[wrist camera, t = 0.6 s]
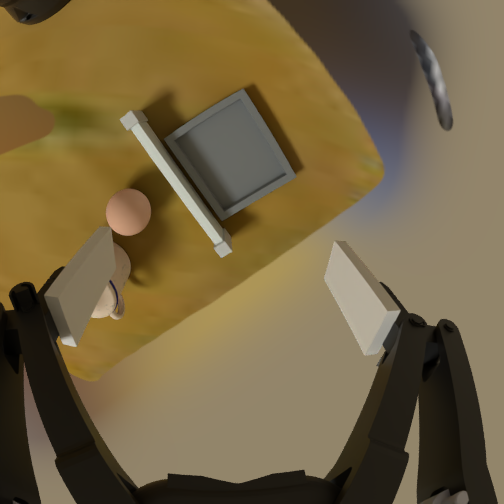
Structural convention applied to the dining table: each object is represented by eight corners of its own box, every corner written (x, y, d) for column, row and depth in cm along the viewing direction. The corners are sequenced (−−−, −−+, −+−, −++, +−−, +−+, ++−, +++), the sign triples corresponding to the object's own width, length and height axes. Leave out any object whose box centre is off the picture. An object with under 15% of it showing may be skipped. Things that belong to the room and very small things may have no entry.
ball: (107, 200, 36) (90, 215, 31) (138, 174, 35) (123, 186, 29) (132, 232, 39) (119, 252, 33) (164, 209, 38) (154, 226, 32)
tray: (166, 138, 33) (163, 139, 32) (242, 89, 31) (243, 88, 30) (221, 217, 40) (221, 221, 38) (293, 174, 38) (296, 177, 36)
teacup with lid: (76, 248, 39) (43, 287, 29) (116, 229, 38) (86, 268, 28) (110, 302, 45) (90, 348, 35) (150, 289, 44) (135, 338, 34)
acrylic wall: (131, 118, 31) (119, 119, 27) (141, 110, 31) (131, 110, 27) (221, 243, 41) (221, 258, 37) (231, 237, 41) (232, 251, 37)
